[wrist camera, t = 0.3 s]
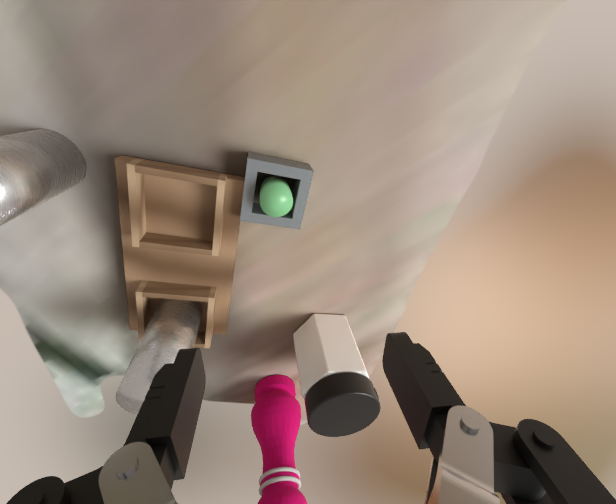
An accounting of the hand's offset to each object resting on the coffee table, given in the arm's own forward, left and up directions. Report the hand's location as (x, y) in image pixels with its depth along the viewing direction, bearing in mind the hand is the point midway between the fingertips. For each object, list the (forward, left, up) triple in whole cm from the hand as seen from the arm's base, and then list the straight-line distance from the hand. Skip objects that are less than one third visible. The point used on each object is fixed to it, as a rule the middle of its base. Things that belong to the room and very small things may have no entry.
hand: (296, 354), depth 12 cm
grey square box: (-1, 0, -21) cm, 21 cm away
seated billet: (+15, -9, -19) cm, 26 cm away
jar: (+19, +10, -21) cm, 30 cm away
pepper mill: (+31, +5, -21) cm, 38 cm away
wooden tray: (+8, -9, -21) cm, 24 cm away
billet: (0, -20, -21) cm, 28 cm away
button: (-1, 0, -19) cm, 19 cm away
